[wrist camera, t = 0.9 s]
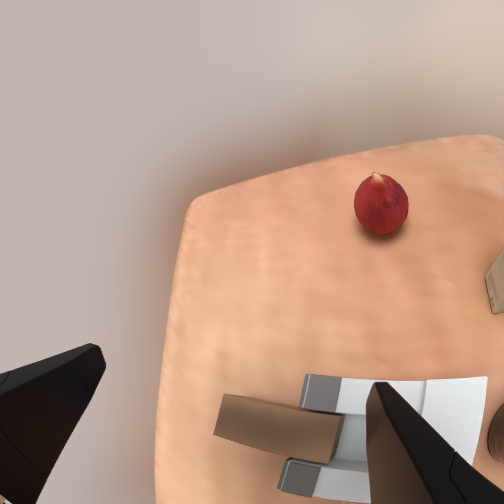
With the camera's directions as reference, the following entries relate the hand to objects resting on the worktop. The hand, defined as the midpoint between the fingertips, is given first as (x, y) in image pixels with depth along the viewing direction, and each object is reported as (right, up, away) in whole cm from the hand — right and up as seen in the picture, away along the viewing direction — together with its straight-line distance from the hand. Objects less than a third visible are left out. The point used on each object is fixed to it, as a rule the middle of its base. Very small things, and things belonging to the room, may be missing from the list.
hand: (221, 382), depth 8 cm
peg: (+4, -12, +14) cm, 19 cm away
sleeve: (+12, -12, +10) cm, 20 cm away
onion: (+16, +7, +21) cm, 27 cm away
